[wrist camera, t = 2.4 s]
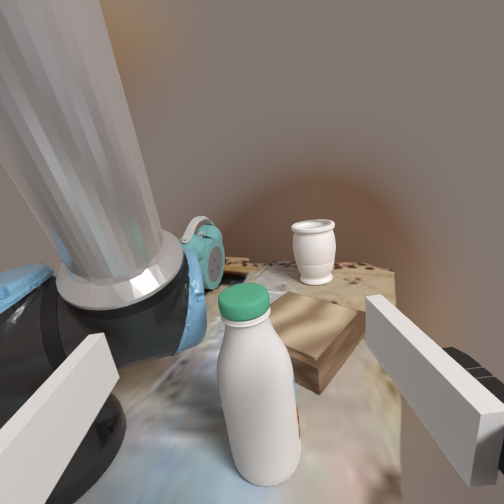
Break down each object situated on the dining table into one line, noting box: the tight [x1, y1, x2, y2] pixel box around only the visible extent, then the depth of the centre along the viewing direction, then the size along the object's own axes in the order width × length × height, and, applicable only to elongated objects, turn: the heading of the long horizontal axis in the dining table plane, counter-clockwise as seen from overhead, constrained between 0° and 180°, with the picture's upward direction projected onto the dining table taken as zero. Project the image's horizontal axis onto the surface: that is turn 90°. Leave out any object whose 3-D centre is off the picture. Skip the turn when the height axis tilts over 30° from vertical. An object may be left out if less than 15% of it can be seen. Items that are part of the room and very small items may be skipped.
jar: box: [292, 220, 336, 285], centre depth 68 cm, size 11×10×15 cm
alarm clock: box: [179, 216, 225, 290], centre depth 71 cm, size 17×10×20 cm, turn 165°
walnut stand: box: [269, 292, 366, 395], centre depth 46 cm, size 16×16×5 cm
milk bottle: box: [217, 283, 301, 487], centre depth 27 cm, size 8×8×20 cm
